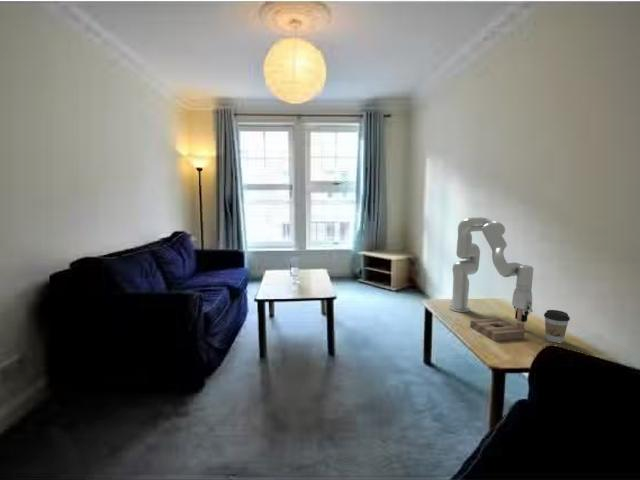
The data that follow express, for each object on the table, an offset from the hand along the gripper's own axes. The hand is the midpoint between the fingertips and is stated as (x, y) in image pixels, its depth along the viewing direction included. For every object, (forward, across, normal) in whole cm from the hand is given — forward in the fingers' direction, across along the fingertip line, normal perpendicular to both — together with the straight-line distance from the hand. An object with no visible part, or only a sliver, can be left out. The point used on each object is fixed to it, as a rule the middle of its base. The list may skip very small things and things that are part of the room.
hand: (521, 319), depth 211 cm
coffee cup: (+6, +18, +5) cm, 19 cm away
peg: (+5, 0, 0) cm, 5 cm away
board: (+5, +2, -17) cm, 18 cm away
